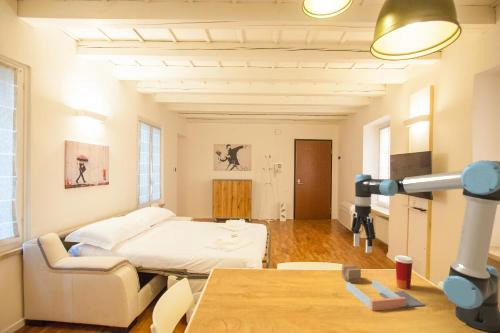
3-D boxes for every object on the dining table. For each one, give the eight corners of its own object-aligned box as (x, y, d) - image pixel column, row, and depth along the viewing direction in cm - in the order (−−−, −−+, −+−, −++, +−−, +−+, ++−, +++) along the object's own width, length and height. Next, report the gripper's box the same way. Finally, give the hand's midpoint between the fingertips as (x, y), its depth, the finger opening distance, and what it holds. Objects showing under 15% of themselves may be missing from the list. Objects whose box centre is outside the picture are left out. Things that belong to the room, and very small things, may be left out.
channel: (406, 307, 121) (406, 298, 121) (372, 310, 118) (372, 301, 118) (375, 286, 142) (375, 278, 142) (345, 288, 139) (345, 280, 139)
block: (360, 282, 146) (360, 269, 146) (348, 283, 145) (348, 270, 145) (353, 277, 153) (353, 264, 153) (341, 278, 152) (341, 265, 152)
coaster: (424, 305, 123) (424, 304, 123) (398, 308, 120) (398, 306, 120) (403, 292, 135) (403, 291, 135) (379, 294, 133) (379, 293, 133)
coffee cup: (408, 283, 145) (408, 255, 145) (415, 290, 137) (416, 260, 137) (391, 283, 146) (391, 254, 146) (398, 290, 138) (398, 260, 138)
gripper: (384, 208, 129) (383, 256, 129) (357, 201, 151) (356, 242, 151) (369, 208, 128) (369, 257, 128) (344, 202, 150) (344, 243, 150)
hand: (362, 249), depth 139 cm, fingers open, 10 cm apart
